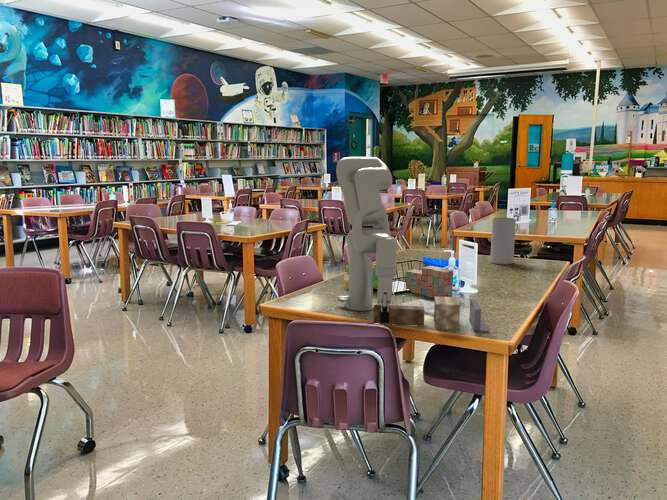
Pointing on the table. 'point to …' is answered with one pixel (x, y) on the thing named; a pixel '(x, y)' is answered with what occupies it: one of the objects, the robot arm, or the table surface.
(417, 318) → the walnut bar
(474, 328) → the grey piece
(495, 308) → the table surface
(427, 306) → the calculator
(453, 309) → the maple block
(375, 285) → the turtle toy
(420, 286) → the stack of blocks
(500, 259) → the cylinder vase
